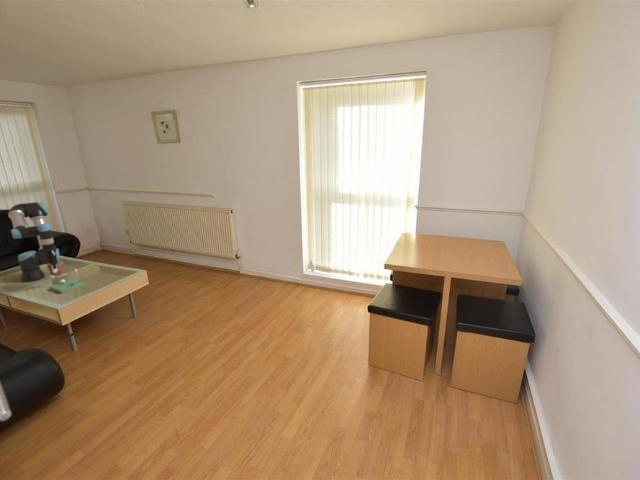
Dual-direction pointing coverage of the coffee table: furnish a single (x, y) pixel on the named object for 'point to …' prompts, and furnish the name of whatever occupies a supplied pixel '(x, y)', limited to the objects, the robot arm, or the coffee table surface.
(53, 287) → the green board
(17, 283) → the coffee table surface
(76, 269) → the pin
